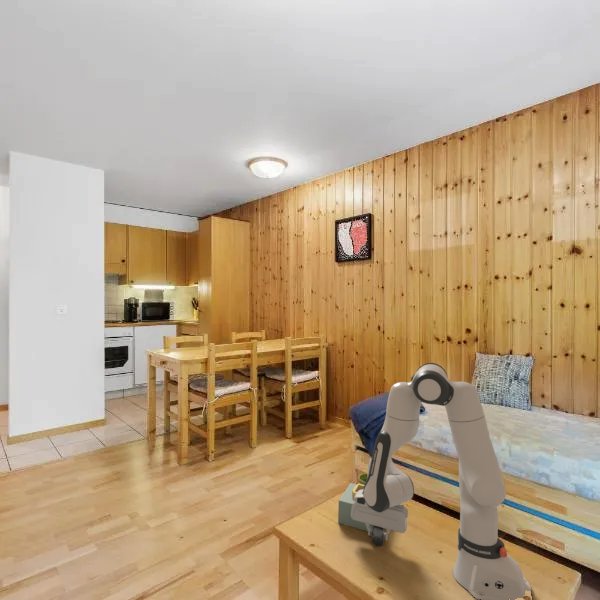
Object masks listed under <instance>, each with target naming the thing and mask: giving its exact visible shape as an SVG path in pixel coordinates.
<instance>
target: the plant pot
mask: <svg viewBox="0 0 600 600" xmlns="http://www.w3.org/2000/svg"><path fill="white" fill-rule="evenodd" d="M367 477H368V472H365V473H361V474H359V475H358V480H359V484H362V485H365V482H366V480H367Z"/></svg>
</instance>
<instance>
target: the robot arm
mask: <svg viewBox="0 0 600 600" xmlns="http://www.w3.org/2000/svg"><path fill="white" fill-rule="evenodd" d="M422 403H423V404H428V405H436V406H441V407H442V406H443V407H445V410H446V411H445V412H446V415H447V418H448V419H447V420H448V423H449V428H450V431H451V436H452V440H453V445H454V447H455V451H456V454H457V457H458V485H459V487H458V488H459V502H460V503H459V504H460V511H459V512H460V513H459V514H460V515H459V518H460V519H459V520H460V521H459V528H458V532H457V549H458V550H457V557H456V560H455V565H454V566H453V569H452V574H453V577H454V579H455V580H456V581H457V582H458V583H459V584H460V585H461V586H462V587H463V588H464V589H465V590H467V591H468V592H469V593H470V595H471V594H472V595H473V596H472V595H471V596H472V597H473V598H474V597H475V598H474V599H476V600H480V599H481V600H509V599H510V600H515V599H517V598H523V597H524V595H525V591H526V590H527V591H531V590H532V586H531V585H530V583H529V580H527V579H526V578H525V577H524V573H523V571H522V568H521V567H520V564H519V563H518V562H517V561H516V560H515V559H514V558H512V556H510V555H509V554H508V553H507V552H508V551H507V549H506V548H505V547H506V546H505V543H504V539H503V538H502V537H501V538H499V536H498V534H499V532H498V531H499V530H498V529H499V511H498V507H499V506H501V505H502V504H503V503H504V502H505V499H506V496H507V494H506V493H507V492H506V487H505V482H504V478H503V474H502V471H501V468H500V464H499V461H498V458H497V455H496V453H495V448H494V447H493V443H492V439H491V437H490V432H489V428H488V424H487V421H486V416H485V412H484V408H483V405H482V403H481V399H480V397H479V395H478V393H477V390H476V389H475V387H474V385H472V384H471V383H470V382H467V381H453V380H450V379H449V376H448V373H447V372H446V370H445V369H444V368H443V366H441V365H439V363H435V362H427V363H424V364H422V365H420V366H419V367H418V369H417V370H416V371H415V373H414V374H413V375H412V376H411V379H410V381H409V382H407V381H399V382H395V383H393V385H392V386H391V388H390V389H389V394H388V397H387V404H386V408H385V409H386V410H385V412H386V413H385V418H384V421H383V425H382V428H381V430H380V432H379V433H378V435H377V437H376V439H375V442H374V446H373V449H372V450H373V451H372V454H371V455H372V456H371V457H370V458H369V461H368V465H367V473H368V477H367V480H366V482H365V485H364V489H362V490H359V491H358V492H357V493H356V495H355V497H354V503H353V505H352V509H351V518H352V519H353V520H356V521H360V522H363V523H366V528H367V529H368V531H367V532H368V533H367V534H368V536H371V537H373V529H371V527H370V524H371V525H374V526H378V527H382V528H384V529H385V530H386V531H384V534H383V539H384V540H385V541H388V539H389V535H390V533H391V531H394V532H397V533H401V534H405V533H406V532H407V529H408V519H407V518H408V516H409V510H408V508H407V507H406V506H405V505H403V504H405V503H407V502H408V501H411V500H412V499H413V498H414V494H415V486H414V482H413V480H412V479H411V477H410V476H409V475H408V474H406V473H405V472H403V471H402V470H400V469H399V468H398V467H397V466H396V464H394V461H393V459H392V457H393V455H394V454H395V453H396V452H397V451H398V450H400V449H401V448H402V447H403V446H405V445H406V444H408V443H410V442H411V441H412V440H413V439H414V438H415V437H416V435H417V434H418V430H419V426H420V414H421V413H420V412H421V406H422ZM524 581H525V582H526V583H525V582H524ZM530 589H531V590H530Z"/></svg>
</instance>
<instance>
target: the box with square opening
mask: <svg viewBox="0 0 600 600" xmlns="http://www.w3.org/2000/svg"><path fill="white" fill-rule="evenodd" d="M362 489H364V485H362V484H360V483H354V482H353V483H352V482H350V483H349V485H348V486H347V488H346V489H345V490H344V492H343V494H342V495H341V496H340V498H339V499H338V511H337V512H338V516H337V521H338V522H337V523H338V524H341V525H345V526H347V527H351V528H355V529H359V530H362V531H366V532H368V529H367V528H366V523H363V522H360V521H356V520H353V519H352V518H351V509H352V505H353V503H354V497H355V495H356V493H357V492H358V491H359V490H362ZM370 527H371V529H373V525H371V524H370Z"/></svg>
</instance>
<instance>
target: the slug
mask: <svg viewBox="0 0 600 600" xmlns="http://www.w3.org/2000/svg"><path fill="white" fill-rule="evenodd" d="M384 532H385V528H382V527H378V526H374V525H373V536H371V537H372V539H371V542H372V544H373V545H374V546H376V547H381V546H382V547H383V545H384V542H385V541H384V540H385V539H383V534H384Z"/></svg>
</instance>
